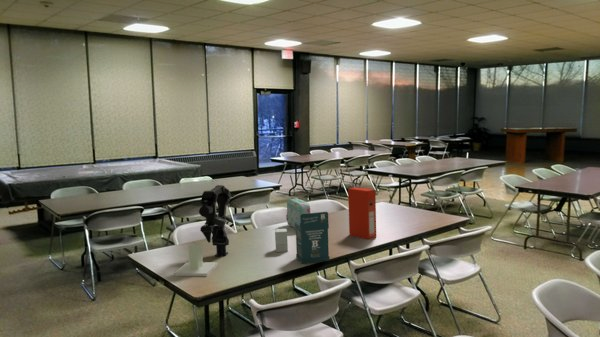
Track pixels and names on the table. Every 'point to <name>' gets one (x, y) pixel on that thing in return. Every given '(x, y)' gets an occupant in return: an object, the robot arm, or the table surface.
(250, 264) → the table surface
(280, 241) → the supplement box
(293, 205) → the lunch box
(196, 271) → the grey board
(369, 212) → the file binder
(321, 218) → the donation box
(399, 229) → the table surface
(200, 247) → the sage block
